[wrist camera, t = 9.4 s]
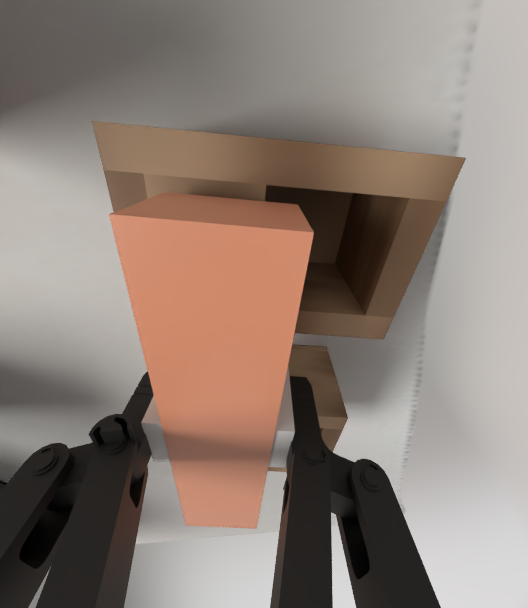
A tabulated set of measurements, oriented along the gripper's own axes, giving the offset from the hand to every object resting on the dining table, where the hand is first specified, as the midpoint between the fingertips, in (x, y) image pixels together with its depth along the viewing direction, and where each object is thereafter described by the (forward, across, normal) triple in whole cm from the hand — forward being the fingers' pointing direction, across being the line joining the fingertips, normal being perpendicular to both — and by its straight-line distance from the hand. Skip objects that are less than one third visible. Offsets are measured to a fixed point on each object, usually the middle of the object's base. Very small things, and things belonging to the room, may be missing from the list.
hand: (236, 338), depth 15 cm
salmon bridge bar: (+1, 0, 0) cm, 1 cm away
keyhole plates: (+3, +2, 0) cm, 3 cm away
